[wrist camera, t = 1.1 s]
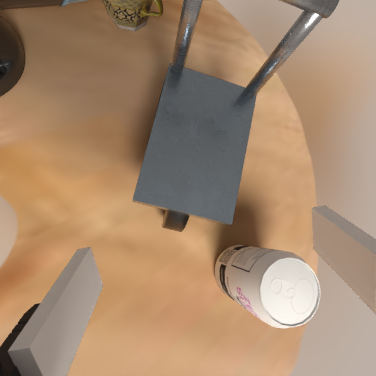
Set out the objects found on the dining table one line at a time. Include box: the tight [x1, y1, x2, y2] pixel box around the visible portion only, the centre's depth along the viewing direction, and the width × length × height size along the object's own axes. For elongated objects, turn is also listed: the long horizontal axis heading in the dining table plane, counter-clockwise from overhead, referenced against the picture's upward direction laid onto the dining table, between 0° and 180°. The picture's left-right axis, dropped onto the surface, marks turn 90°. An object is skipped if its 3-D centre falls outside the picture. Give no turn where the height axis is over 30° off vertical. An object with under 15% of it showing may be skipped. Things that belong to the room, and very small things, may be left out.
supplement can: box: [215, 245, 320, 328], centre depth 35 cm, size 8×8×15 cm
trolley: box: [133, 0, 339, 232], centre depth 30 cm, size 22×12×26 cm, turn 167°
